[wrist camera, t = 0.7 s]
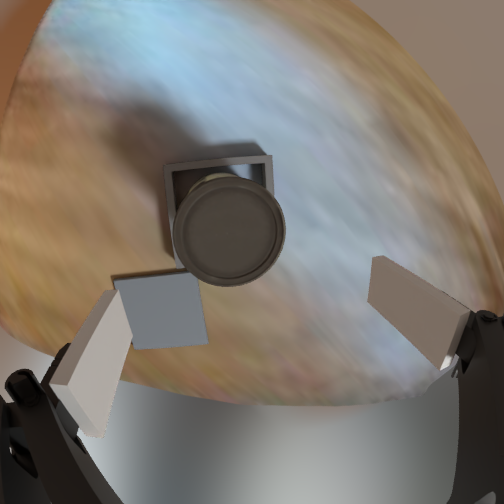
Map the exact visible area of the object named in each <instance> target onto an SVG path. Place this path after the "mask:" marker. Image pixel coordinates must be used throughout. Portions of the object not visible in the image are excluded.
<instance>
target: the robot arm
mask: <svg viewBox="0 0 504 504" xmlns="http://www.w3.org/2000/svg"><path fill="white" fill-rule="evenodd" d="M367 302H368V303H369V304H370V305H371V306H372V307H374V308H375V309H376V310H377V311H378V312H379V313H380V314H381V315H382V316H383V317H384V318H385V319H387V320H388V321H389V322H390V323H391V324H392V325H393V326H394V327H395V328H396V329H397V330H398V331H399V332H400V333H401V334H402V335H403V336H405V337H406V338H407V339H408V340H409V341H410V342H411V343H412V344H413V345H414V346H415V347H416V348H417V349H418V350H419V351H420V352H421V353H422V354H423V355H424V356H425V357H426V358H427V359H428V360H429V361H430V362H431V363H432V364H433V365H434V366H435V367H436V368H437V369H438V370H439V371H440V370H442V369H444V368H446V367H447V366H449V365H451V362H452V360H453V358H454V355H455V353H456V354H457V355H458V356H459V359H458V361H457V364H456V366H455V368H454V370H453V372H452V375H451V377H452V378H453V377H454V374H455V373H456V372H458V374H457V376H456V378H458V385H459V440H458V453H457V463H456V472H455V478H454V485H453V490H452V494H451V497H450V499H449V501H448V502H447V504H504V315H503V316H502V317H498V316H497V315H495V314H494V313H492V312H490V311H486V310H480V311H477V313H474V312H473V311H471V310H470V309H469V308H467V307H466V306H464V305H463V304H461V303H460V302H458V301H456V300H455V299H454V298H452V297H450V296H449V295H448V294H446V293H445V292H443V291H441V290H439V289H437V288H436V287H434V286H433V285H431V284H430V283H428V282H426V281H425V280H423V279H422V278H420V277H418V276H417V275H415V274H414V273H412V272H410V271H409V270H407V269H405V268H404V267H402V266H400V265H399V264H397V263H395V262H394V261H392V260H390V259H388V258H387V257H385V256H377V257H372V267H371V277H370V286H369V294H368V301H367ZM132 337H133V335H132V332H131V329H130V326H129V323H128V320H127V316H126V313H125V310H124V306H123V303H122V300H121V296H120V292H119V289H117V290H106V291H105V292H104V293H103V294H102V296H101V297H100V299H99V300H98V302H97V303H96V305H95V306H94V308H93V309H92V311H91V312H90V314H89V316H88V317H87V319H86V320H85V322H84V323H83V325H82V327H81V328H80V330H79V331H78V333H77V335H76V336H75V338H74V340H73V341H72V343H67V344H66V345H65V346H64V347H62V348H61V349H60V350H59V352H58V353H57V355H56V357H55V360H53V362H52V363H51V366H50V367H49V369H48V371H47V372H46V374H45V376H44V377H43V380H42V381H41V383H39V382H38V380H37V378H36V377H35V375H34V374H33V372H32V371H31V370H29V369H20V370H17V371H15V372H14V373H12V374H11V375H10V376H9V377H8V379H7V380H6V382H5V389H6V391H7V392H8V394H9V395H10V396H11V398H12V399H13V401H14V402H12V403H6V402H5V400H4V399H3V398H2V396H1V395H0V504H51V503H52V504H124V503H123V502H122V501H121V500H120V498H119V497H118V496H117V494H116V493H115V492H114V490H113V489H112V488H111V486H110V485H109V484H108V482H107V481H106V479H105V478H104V476H103V475H102V474H101V472H100V471H99V469H98V468H97V466H96V464H95V463H94V461H93V460H92V458H91V457H90V455H89V453H88V451H87V450H86V448H85V447H84V445H83V443H82V441H81V439H80V438H79V437H78V436H77V431H78V428H80V429H81V430H82V431H83V432H84V434H85V435H86V436H90V437H99V438H104V435H105V431H106V427H107V422H108V418H109V414H110V410H111V406H112V403H113V399H114V396H115V392H116V388H117V385H118V381H119V378H120V375H121V371H122V368H123V365H124V362H125V359H126V355H127V352H128V349H129V346H130V343H131V340H132ZM10 447H11V449H12V453H11V452H10Z"/></svg>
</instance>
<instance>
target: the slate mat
mask: <svg viewBox="0 0 504 504" xmlns="http://www.w3.org/2000/svg"><path fill="white" fill-rule="evenodd" d="M113 282H114V285H115V289H116V290H117V289H119V292H120V296H121V300H122V303H123V306H124V310H125V313H126V316H127V320H128V323H129V326H130V329H131V332H132V335H133V337H132V343H133V346H134V349H135V350H136V349H154V348H169V347H181V346H192V345H202V344H208V337H207V331H206V326H205V320H204V315H203V309H202V303H201V297H200V291H199V284H198V278H196V277H195V276H193V275H192V274H191V273H190V272H189V271H184V272H175V273H166V274H157V275H147V276H138V277H129V278H119V279H114V281H113Z"/></svg>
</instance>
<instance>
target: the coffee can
mask: <svg viewBox="0 0 504 504" xmlns="http://www.w3.org/2000/svg"><path fill="white" fill-rule="evenodd" d="M285 234H286V226H285V219H284V215H283V212H282V209H281V207H280V205H279V203H278V202H277V200H276V199H275V198H274V196H273V195H272V194H271V193H270V192H269V191H268V190H267V189H266V188H264V187H263V186H261V185H260V184H258V183H256V182H254V181H252V180H249V179H246V178H241V177H238V176H236V175H233V174H230V173H213V174H209V175H206V176H204V177H202V178H201V179H199V180H198V181H197V182H196V183H195V184H194V185H193V186H192V187H191V188H190V190H189V192H188V194H187V196H186V197H185V198H184V200H183V201H182V203H181V204H180V206H179V208H178V210H177V212H176V215H175V218H174V222H173V229H172V237H173V244H174V248H175V251H176V253H177V256H178V258H179V260H180V261H181V263H182V264H183V266H184V267H185V268H186V269H187V270H188V271H189V272H190V273H191V274H192V275H193V276H195V277H196V278H198V279H200V280H201V281H203V282H206V283H208V284H211V285H215V286H221V287H234V286H240V285H244V284H247V283H250V282H252V281H254V280H256V279H258V278H259V277H261V276H262V275H263V274H265V273H266V272H267V271H268V270H269V269H270V268H271V267H272V266H273V265H274V263H275V262H276V260H277V259H278V257H279V255H280V253H281V251H282V249H283V245H284V241H285Z"/></svg>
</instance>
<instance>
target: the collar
mask: <svg viewBox="0 0 504 504" xmlns="http://www.w3.org/2000/svg"><path fill="white" fill-rule="evenodd" d="M255 163H261V169H262V186H263V187H264V188H266V189H267V190H268V191H269V192H270V193H271V194H272V195H273V196H274V180H273V162H272V155H263V156H245V157H231V158H219V159H209V160H199V161H190V162H182V163H174V164H167V165H163V171H164V181H165V191H166V199H167V208H168V216H169V223H170V230H171V237H172V229H173V222H174V218H175V215H176V212H177V210H178V208H177V200H176V191H175V181H174V171H180V170H189V169H197V168H206V167H217V166H228V165H240V164H255ZM172 244H173V237H172ZM173 250H174V257H175V263H176V269H179V268H185V267H184V266H183V264H182V263H181V261H180V260H179V258H178V256H177V253H176V251H175V248H174V244H173Z"/></svg>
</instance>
